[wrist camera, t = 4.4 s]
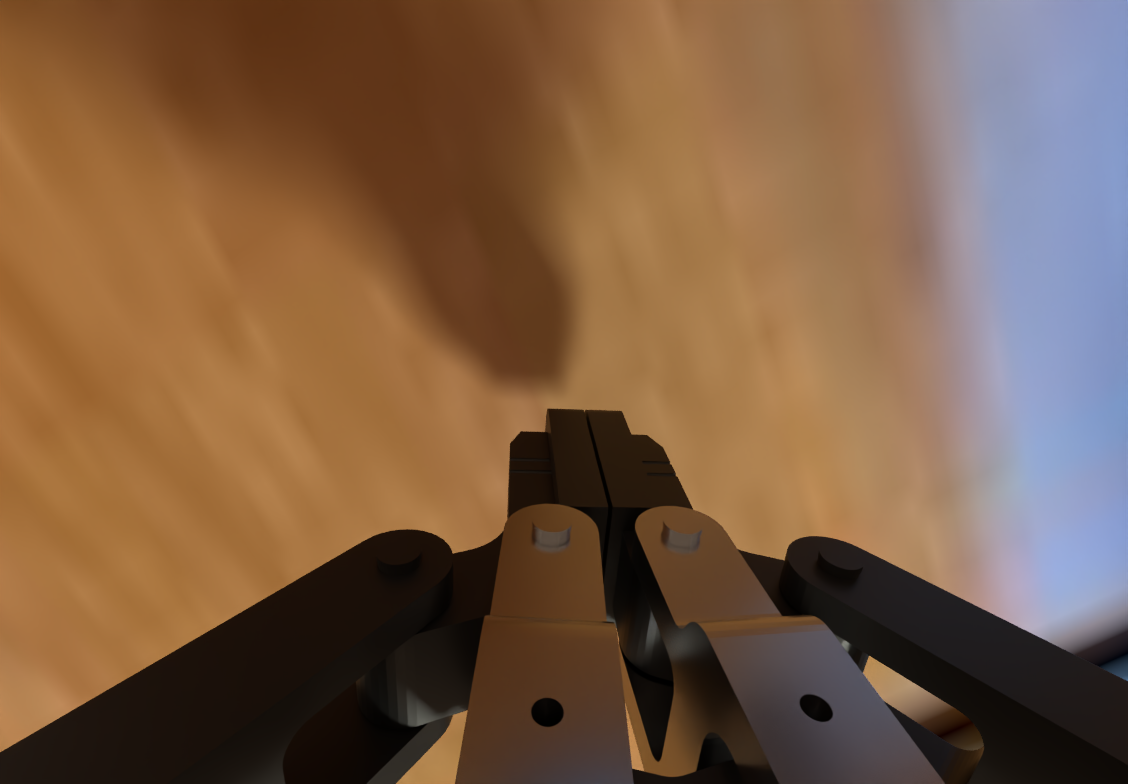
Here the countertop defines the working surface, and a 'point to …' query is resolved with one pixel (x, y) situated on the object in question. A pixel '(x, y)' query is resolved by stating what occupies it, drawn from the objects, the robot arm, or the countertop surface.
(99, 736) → the robot arm
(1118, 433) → the countertop surface
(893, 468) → the countertop surface
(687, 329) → the countertop surface
